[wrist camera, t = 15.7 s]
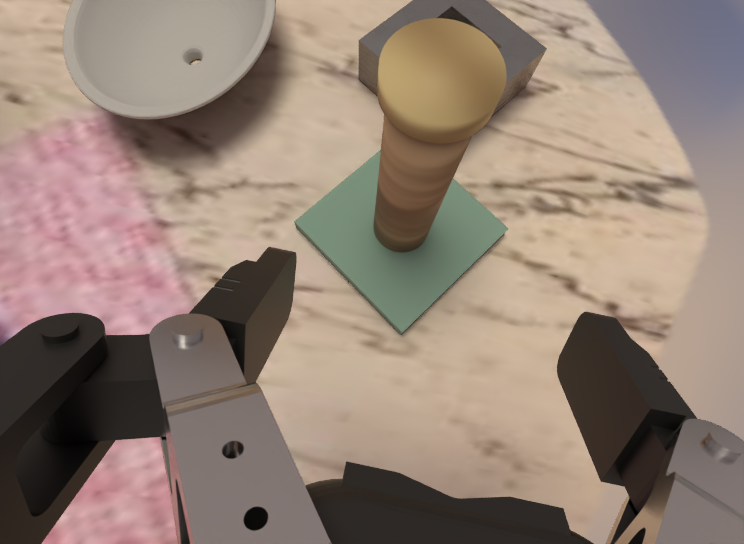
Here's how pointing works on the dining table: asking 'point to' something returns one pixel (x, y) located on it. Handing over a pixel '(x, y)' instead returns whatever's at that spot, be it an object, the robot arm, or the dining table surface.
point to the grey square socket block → (469, 7)
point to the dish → (162, 51)
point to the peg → (429, 120)
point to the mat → (398, 269)
